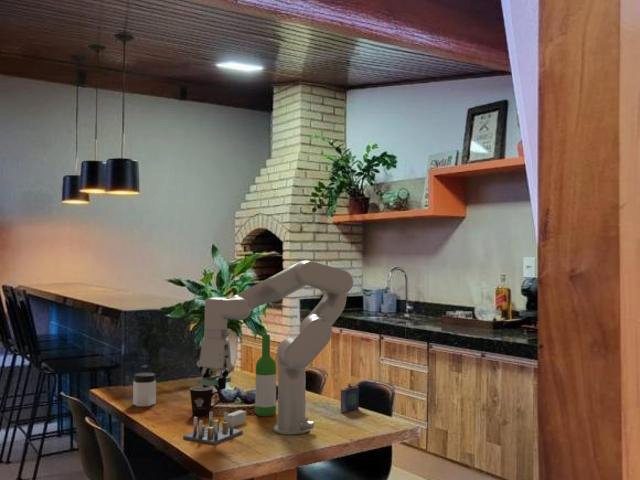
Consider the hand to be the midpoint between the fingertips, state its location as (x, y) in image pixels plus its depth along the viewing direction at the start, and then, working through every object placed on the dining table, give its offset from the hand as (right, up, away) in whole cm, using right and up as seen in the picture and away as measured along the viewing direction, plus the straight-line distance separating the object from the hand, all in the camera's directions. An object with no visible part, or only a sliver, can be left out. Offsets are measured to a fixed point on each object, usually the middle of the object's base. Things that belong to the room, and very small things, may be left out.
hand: (214, 387), depth 216 cm
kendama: (+21, -17, +56) cm, 62 cm away
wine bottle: (+15, -17, +28) cm, 36 cm away
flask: (+47, -17, +33) cm, 60 cm away
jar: (-35, -17, +43) cm, 58 cm away
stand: (+6, -16, +13) cm, 22 cm away
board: (0, +2, 0) cm, 2 cm away
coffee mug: (-8, -17, +26) cm, 32 cm away
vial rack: (0, -16, -1) cm, 16 cm away
